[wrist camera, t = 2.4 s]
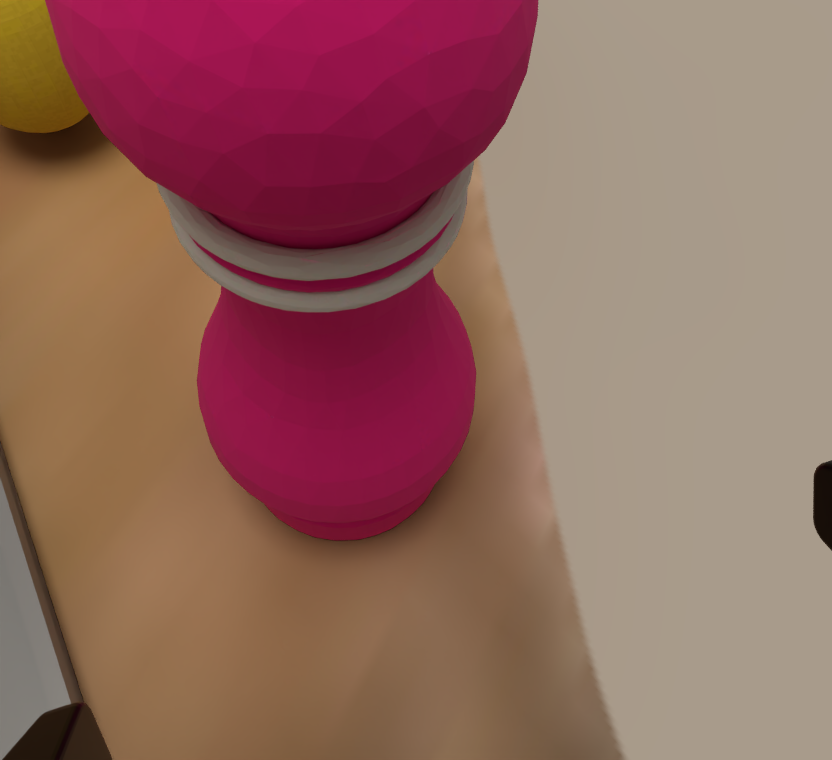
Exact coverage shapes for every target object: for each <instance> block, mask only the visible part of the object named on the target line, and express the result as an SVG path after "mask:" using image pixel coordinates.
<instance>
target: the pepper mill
mask: <svg viewBox="0 0 832 760" xmlns="http://www.w3.org/2000/svg"><path fill="white" fill-rule="evenodd" d="M45 2H46V6H47V9H48V13H49V16H50V20H51V23H52V27H53V30H54V34H55V37H56V41H57V44H58V48H59V51H60V55H61V58H62V62H63V64H64V66H65V68H66V70H67V72H68V75H69V77H70V79H71V81H72V83H73V85H74V87H75V89H76V91H77V93H78V95H79V97H80V99H81V100H82V102H83V104H84V105H85V107H86V108H87V110H88V111H89V113H90V114H91V116H92V117H93V119H94V120H95V122H96V124H97V125H98V127H99V128H100V130H101V131H102V133H103V134H104V135H105V136H106V137H107V138H108V139H109V140H110V141H111V142H112V143H113V144H114V145H115V146H116V147H117V148H118V149H119V150H120V151H121V152H122V153H123V154H124V155H125V156H126V157H127V158H128V159H129V160H130V161H131V162H132V163H133V164H134V165H135V166H136V167H137V168H138V169H139V170H140V171H141V172H142V173H143V174H144V175H145V176H146V177H148V178H149V179H151V180H153V181H154V182H156V183H157V186H158V189H159V193H160V194H161V196H162V198H163V200H164V202H165V204H166V205H167V207H168V209H169V212H170V217H171V222H172V225H173V227H174V230H175V232H176V234H177V237H178V239H179V241H180V243H181V244H182V246H183V247H184V249H185V250H186V251H187V253H188V254H189V256H190V257H191V258H192V260H193V261H194V262H195V263H196V264H197V265H198V266H199V268H200V269H201V270H202V271H203V272H204V273H205V274H207V275H208V276H209V277H211V278H212V279H213V280H214V281H216V282H217V283H218V284H220V285H221V286H222V287H221V295H220V298H219V301H218V303H217V305H216V307H215V309H214V312H213V314H212V316H211V318H210V320H209V322H208V324H207V327H206V329H205V332H204V336H203V339H202V343H201V350H200V358H199V367H198V376H197V386H198V396H199V405H200V409H201V413H202V416H203V419H204V423H205V426H206V429H207V433H208V436H209V440H210V443H211V445H212V447H213V449H214V451H215V453H216V455H217V457H218V459H219V461H220V462H221V463H222V465H223V466H224V467H225V469H226V470H227V471H228V473H229V474H230V475H231V476H232V478H233V479H234V480H235V481H236V482H237V483H239V484H240V485H241V486H242V487H243V488H244V489H245V490H246V491H247V492H248V493H250V494H251V495H252V496H254V497H255V498H257V499H258V500H260V501H261V502H263V503H264V504H265V505H266V507H267V508H268V509H269V510H270V511H271V512H272V513H273V514H274V515H275V516H276V517H277V518H278V519H280V520H281V521H283V522H284V523H286V524H287V525H289V526H291V527H292V528H294V529H296V530H297V531H300V532H303V533H305V534H308V535H310V536H313V537H316V538H323V539H329V540H335V541H336V540H359V539H363V538H367V537H371V536H375V535H378V534H380V533H382V532H385V531H387V530H390V529H392V528H393V527H395V526H396V525H398V524H399V523H401V522H402V521H404V520H405V519H407V518H408V517H409V516H410V515H411V514H412V513H414V512H415V511H416V510H417V509H418V508H419V507H420V506H421V505H422V504H423V502H424V501H425V500H426V498H427V497H428V495H429V494H430V492H431V490H432V489H433V487H434V485H435V483H436V482H437V481H438V480H439V479H440V478H441V477H442V476H443V475H444V474H445V473H446V472H447V470H448V469H449V467H450V466H451V464H452V463H453V461H454V460H455V458H456V456H457V455H458V453H459V452H460V450H461V448H462V446H463V444H464V441H465V439H466V436H467V434H468V432H469V428H470V424H471V419H472V415H473V409H474V399H475V383H476V368H475V363H474V358H473V352H472V347H471V344H470V341H469V338H468V335H467V332H466V329H465V327H464V324H463V322H462V320H461V317H460V315H459V313H458V311H457V310H456V308H455V306H454V305H453V303H452V302H451V300H450V298H449V297H448V296H447V295H446V294H445V292H444V291H443V290H442V289H441V288H440V286H439V285H438V284H437V283H436V281H435V278H434V274H433V267H434V266H435V265H436V264H437V263H438V262H439V261H440V260H441V259H442V258H443V256H444V255H445V254H446V252H447V251H448V250H449V249H450V247H451V246H452V244H453V242H454V240H455V239H456V237H457V235H458V232H459V230H460V227H461V224H462V222H463V218H464V213H465V209H466V205H467V188H468V185H469V183H470V179H471V175H472V170H473V165H474V160H475V159H476V158H477V157H478V156H479V155H480V154H481V153H482V152H484V151H485V150H486V148H487V147H488V146H489V144H490V143H491V141H492V140H493V139H494V137H495V136H496V135H497V133H498V132H499V130H500V129H501V128H502V126H503V125H504V124H505V122H506V120H507V117H508V115H509V113H510V110H511V108H512V106H513V103H514V101H515V99H516V97H517V94H518V92H519V90H520V87H521V85H522V82H523V80H524V78H525V75H526V73H527V68H528V63H529V58H530V53H531V47H532V42H533V37H534V32H535V27H536V22H537V16H538V0H45Z"/></svg>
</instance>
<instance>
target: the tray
mask: <svg viewBox="0 0 832 760" xmlns="http://www.w3.org/2000/svg"><path fill="white" fill-rule="evenodd" d="M78 701H80V702H83V698H82V695H81V692H80V689H79V686H78V683H77V680H76V677H75V673H74V670H73V667H72V664H71V661H70V658H69V655H68V652H67V648H66V645H65V642H64V639H63V636H62V633H61V630H60V627H59V624H58V620H57V617H56V614H55V611H54V608H53V605H52V602H51V599H50V595H49V592H48V589H47V586H46V583H45V580H44V577H43V574H42V570H41V567H40V564H39V561H38V558H37V555H36V552H35V549H34V546H33V542H32V539H31V536H30V533H29V530H28V527H27V524H26V521H25V517H24V514H23V511H22V508H21V505H20V502H19V499H18V496H17V492H16V489H15V486H14V483H13V480H12V477H11V474H10V471H9V468H8V464H7V461H6V458H5V455H4V452H3V449H2V446H1V443H0V760H2V759H3V758H4V757H5V755H6V754H7V753H8V752H9V751H10V750H11V749H12V747H13V746H14V745H15V744H16V743H17V742H18V741H19V739H20V738H21V737H22V736H23V735H24V734H25V732H26V731H27V730H28V729H29V728H30V727H31V726H32V724H33V723H34V722H35V721H36V720H37V719H38V718H39V717H40V716H41V715H42V714H43V713H45V712H47V711H49V710H52V709H56V708H59V707H62V706H65V705H68V704H71V703H74V702H78ZM83 703H84V702H83Z"/></svg>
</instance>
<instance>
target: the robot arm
mask: <svg viewBox="0 0 832 760" xmlns="http://www.w3.org/2000/svg"><path fill="white" fill-rule="evenodd" d="M813 498H814V499H813V509H814V510H813V520H814V525H815V528H816V530H817V533H818V534H819V536H820V538H821V539H822V540H823V542H824V543H825V544H826V545H827V546H828V547H829V548H830V549H831V550H832V460H831V461H828V462H825V463H822V464H821V465H819V466H818V467H817V468H816V470H815V473H814V497H813ZM2 760H112V757H111V754H110V752H109V750H108V748H107V745H106V743H105V741H104V738H103V736H102V734H101V732H100V729H99V727H98V725H97V722H96V720H95V718H94V716H93V713H92V711H91V709H90V708H89V707H88V706H87V704H86V703H83V702H80V701H78V702H74V703H71V704H68V705H65V706H62V707H59V708H56V709H52V710H49V711H47V712H45V713H43V714H42V715H41V716H40V717H39V718H38V719H37V720H36V721H35V722H34V723H33V724H32V726H31V727H30V728H29V729H28V730H27V731H26V732H25V734H24V735H23V736H22V737H21V738H20V739H19V741H18V742H17V743H16V744H15V745H14V746H13V747H12V749H11V750H10V751H9V752H8V753H7V754H6V755H5V757H4V758H3V759H2Z"/></svg>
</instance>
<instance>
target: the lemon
mask: <svg viewBox="0 0 832 760" xmlns="http://www.w3.org/2000/svg"><path fill="white" fill-rule="evenodd" d="M88 114H89V111H88V110H87V108H86V107H85V105H84V104H83V102H82V100H81V99H80V97H79V95H78V93H77V91H76V89H75V87H74V85H73V83H72V81H71V79H70V77H69V75H68V72H67V70H66V68H65V66H64V64H63V62H62V58H61V55H60V51H59V48H58V44H57V41H56V37H55V34H54V30H53V27H52V23H51V20H50V16H49V13H48V9H47V6H46V2H45V0H0V125H2V126H5V127H7V128H10V129H14V130H18V131H23V132H29V133H48V132H55V131H59V130H62V129H65V128H68V127H70V126H72V125H74V124H76V123H77V122H79V121H81V120H82V119H83V118H84V117H85V116H86V115H88Z"/></svg>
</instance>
